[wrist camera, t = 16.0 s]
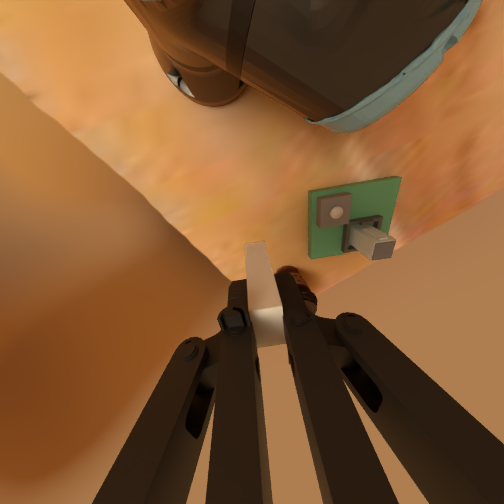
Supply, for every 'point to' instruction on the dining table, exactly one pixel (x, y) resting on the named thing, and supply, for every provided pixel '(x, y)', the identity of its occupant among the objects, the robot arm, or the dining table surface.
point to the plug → (372, 242)
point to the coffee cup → (302, 288)
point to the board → (359, 208)
